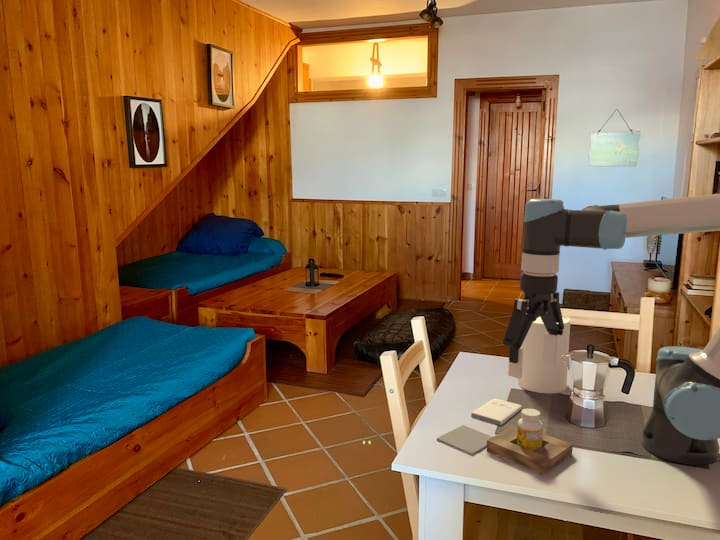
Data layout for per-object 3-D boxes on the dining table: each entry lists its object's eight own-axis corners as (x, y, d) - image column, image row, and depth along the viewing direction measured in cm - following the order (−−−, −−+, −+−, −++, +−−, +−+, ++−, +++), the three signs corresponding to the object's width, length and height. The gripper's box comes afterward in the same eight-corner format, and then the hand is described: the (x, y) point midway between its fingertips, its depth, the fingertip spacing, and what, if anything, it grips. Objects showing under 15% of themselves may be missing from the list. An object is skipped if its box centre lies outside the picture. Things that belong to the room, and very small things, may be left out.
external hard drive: (471, 418, 144) (493, 402, 153) (500, 427, 139) (522, 410, 148) (471, 412, 144) (493, 397, 153) (501, 421, 139) (522, 404, 148)
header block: (572, 454, 124) (572, 444, 124) (543, 474, 116) (544, 463, 116) (516, 433, 134) (516, 423, 134) (486, 450, 126) (486, 440, 126)
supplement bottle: (544, 459, 122) (546, 417, 120) (518, 458, 123) (520, 417, 121) (538, 447, 127) (540, 407, 126) (514, 446, 128) (516, 406, 126)
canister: (573, 393, 158) (577, 324, 155) (524, 393, 158) (527, 324, 155) (557, 376, 171) (561, 312, 168) (512, 376, 172) (515, 312, 168)
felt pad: (498, 440, 131) (498, 438, 131) (472, 455, 124) (472, 453, 124) (462, 426, 138) (463, 425, 138) (436, 439, 131) (436, 438, 131)
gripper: (553, 264, 129) (547, 352, 133) (488, 277, 113) (483, 378, 117) (585, 268, 124) (577, 361, 128) (521, 283, 108) (515, 388, 111)
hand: (532, 369), depth 122 cm, fingers open, 13 cm apart
